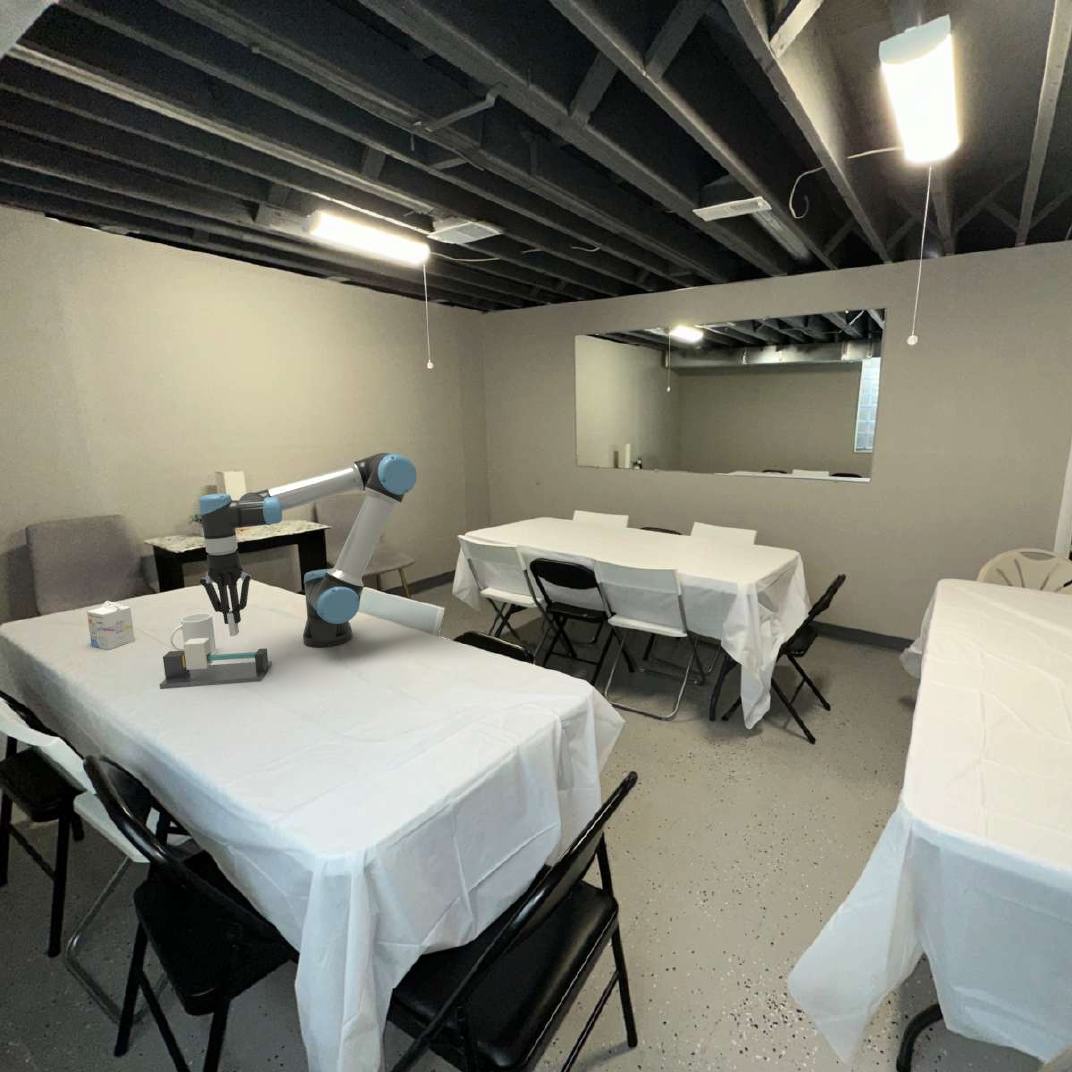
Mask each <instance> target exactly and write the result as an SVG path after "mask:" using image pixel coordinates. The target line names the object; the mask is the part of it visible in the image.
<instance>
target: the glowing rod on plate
mask: <svg viewBox="0 0 1072 1072" xmlns="http://www.w3.org/2000/svg"><path fill="white" fill-rule="evenodd" d="M206 656H207V661H212V662H214V661H228V660H230V661H231V660H241V659H242V660H243V659H254V661H252V662H251V661H249V662H248V661H247V662H239V663H236V662H235V663H222V664H218V663H217V664H210V665H209V666H208V667H207V668H204V669H189V670H187V668H186V660H185V652H184V650H183V651H179V650H172V651H168V652H167V653H166V654H165V655H163V657H162V661H163V668H164V676H165V678H164V680H163V681H162V682H161V683H159V688H160V689H170V688H171V689H174V688H188V687H200V686H211V685H212V686H213V685H224V684H225V685H226V684H239V683H243V684H244V683H252V682H262V680H263V679H264V678H265V676H266V674H267V673H268V672H269V670H270V669H271V668H272V665H273V662H272V660H269V656H268V648H266V647H265V648H259V649H258V650H257V651H253V652H252V651H251V652H249V651H248V652H235V653H221V654H219V653H218V654H216V655H206Z"/></svg>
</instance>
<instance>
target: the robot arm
mask: <svg viewBox="0 0 1072 1072" xmlns="http://www.w3.org/2000/svg"><path fill="white" fill-rule="evenodd" d="M417 478H418V475H417V469H416V466H415V465H414V463H413V462H412V460H410V459H409V458H407V457H406V456H405V455H401V454H399V453H388V452H381V453H376V454H373V455H370V456H368V457H365V458H362V459H360V460H356V461H352V462H350V464H349V466H347V467H342V468H339V469H335V470H332V471H329V472H324V473H321V474H317V475H314V476H310V477H307V478H303V479H299V480H296V481H293V482H289V483H285V484H282V485H278V486H275V487H274V486H273V487H270V488H267V489H263V490H259V491H256V492H247V493H244V494H242V495H241V496H240V498H239V499H237V500H235V499H232V496H231V495H230V493H211V494H206V495H202V496H201V497H200V498H199V500H198V502H199V514H200V520H201V526H202V533H203V538H204V545H205V552H206V553H207V555H206V559H207V565H208V571H207V575H206V576H204V577H202V578H201V579H199V584H201V586H202V587H204V589H205V591H206V593H207V596H208V598H209V601H210V603H211V605H212V607H213V609H214V611H215V613H216V612H217V613H218V612H219V613H222V615H223V616H222V617H223V621H224V625H228V629H229V630H228V631H229V636H230V637H236V636H237V635H238V634H239V633H240V631H239V630H240V629H239V623H240V622H241V621H242V619H241V611H242V610H244V609H245V608H246V607H247V604H248V598H249V597H248V596H249V589H250V588H249V587H250V582H251V580H252V578H253V576H254V575H253V573H247V572H245V571H244V569H243V567H242V566H241V559H240V553H239V551H238V550H237V549H238V541H237V540H238V538H237V532H236V529H242V528H249V527H259V526H271V525H274V524H280V523H281V522H282V521H283V512H285V511H287V510H292V509H294V508H298V507H301V506H305V505H308V504H311V503H316V502H318V501H323V500H326V499H329V498H332V497H335V496H339V495H342V494H346V493H349V492H354V491H357V490H358V491H359V492H364V491H365V493H366V496H365V499H364V501H363V503H362V505H361V507H360V510H359V512H358V515H357V517H356V519H355V521H354V523H353V525H352V526H351V530H350V531H349V534H348V536H347V539H346V541H345V543H344V544H343V547H342V550H341V551H340V554H339V556H338V557H337V561H336V563H335V564H334V567H332V568H324V569H317V570H311V571H309V572H306V573H305V574H304V577H303V578H304V579H303V584H304V592H305V593H304V595H305V604H306V615H307V617H306V622H305V626H304V631H303V635H302V641H303V644H304V645H305V646H308V647H313V648H327V647H332V646H333V647H334V646H338V645H339V646H340V645H341V644H345V643H346V642H348V641H350V640H351V639H353V628H352V625H351V624H350V623H351V622H349V621H350V620H352V619H353V618H355V616H356V615H357V613H358V611H359V610H360V606H361V605H360V595H361V594H362V590H363V588H364V585H365V584H364V582H363V580H362V578H363V576H364V573H365V571H366V569H367V567H368V564H369V562H370V560H371V558H372V556H373V553H374V552H375V549H376V547H377V544H378V542H379V541H380V538H381V536H382V533H383V532H384V529H385V527H386V525H387V523H388V520H389V519H390V516H391V514H392V512H393V509H394V508H395V507H396V506H399V505H401V504H402V502H403V500H404V497H405V495H406V494H408V493H409V492H410V491H411V490H413V488H414V487H415V485H416V482H417V480H418V479H417ZM240 577H241V581H242V583H241V590H240V595H239V591H238V582H239V580H240ZM212 581H213V582H214V583H215V584H216V585H217V589H218V593H219V595H218V594H217V591H216V588H215V586H214V584H213V582H212ZM228 591H229V595H228ZM239 596H240V598H239ZM229 597H230V598H229ZM229 599H230V601H229ZM230 604H231V607H230Z"/></svg>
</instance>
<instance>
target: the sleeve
mask: <svg viewBox="0 0 1072 1072" xmlns="http://www.w3.org/2000/svg"><path fill="white" fill-rule="evenodd" d="M183 647H184V652H185V660H186V668H187V670H189V669H204V668H207V667H208V666H209V665H212V663H213V661H207V656H206V655H212V653H211V645H210V638H197V639H189V640H188V641H187V642H186V643H185V644H184V643H183Z"/></svg>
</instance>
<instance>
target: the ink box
mask: <svg viewBox="0 0 1072 1072" xmlns="http://www.w3.org/2000/svg"><path fill="white" fill-rule="evenodd" d="M86 614H87V621H88V623H87V624H88V628H89V629H88V630H89V637H90V644H91V647H94V648H97V649H102V650H107V651H109V650H112V649H116V648H118V647H122V646H125V645H127V644H130V643H133V642H135V640H136V639H135V632H134V626H133V617H132V612H131V607H130V606H126V605H122V604H121V603H118V602H114V601H110V600H106V601H105V602H104V603H103V604H102V606H100V607H98V608H94V609H91V610H87V611H86Z"/></svg>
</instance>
